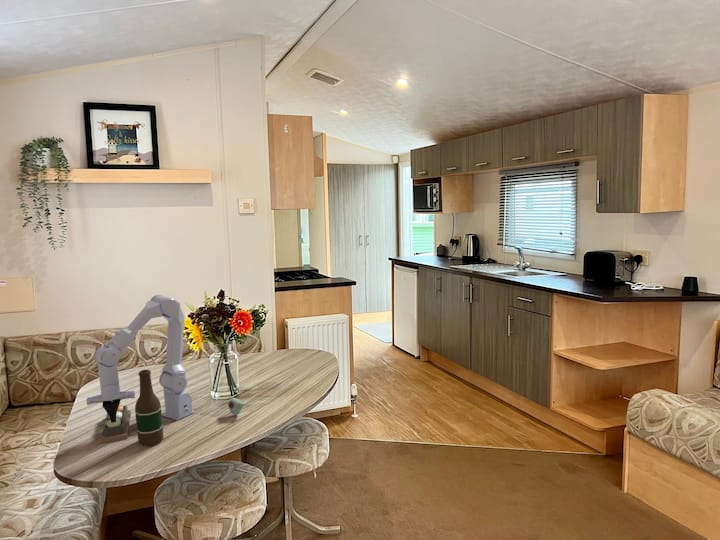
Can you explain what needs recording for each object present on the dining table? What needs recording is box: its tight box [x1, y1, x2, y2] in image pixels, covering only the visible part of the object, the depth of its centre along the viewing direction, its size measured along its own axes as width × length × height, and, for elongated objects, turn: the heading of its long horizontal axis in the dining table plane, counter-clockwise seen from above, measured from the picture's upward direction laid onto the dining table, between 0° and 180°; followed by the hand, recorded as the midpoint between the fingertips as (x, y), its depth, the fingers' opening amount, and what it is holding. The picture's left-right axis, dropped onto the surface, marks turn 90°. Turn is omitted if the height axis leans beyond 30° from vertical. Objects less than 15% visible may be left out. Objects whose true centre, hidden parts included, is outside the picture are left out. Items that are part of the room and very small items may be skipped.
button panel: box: [100, 404, 132, 444], centre depth 189 cm, size 22×8×4 cm, turn 20°
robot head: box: [226, 397, 246, 416], centre depth 195 cm, size 8×4×7 cm, turn 62°
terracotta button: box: [117, 404, 124, 412], centre depth 194 cm, size 4×4×2 cm
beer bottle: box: [134, 369, 164, 447], centre depth 176 cm, size 8×8×24 cm
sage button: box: [107, 419, 121, 428], centre depth 182 cm, size 4×4×2 cm
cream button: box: [109, 412, 122, 420], centre depth 188 cm, size 4×4×2 cm
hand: (113, 421), depth 182 cm, fingers closed
